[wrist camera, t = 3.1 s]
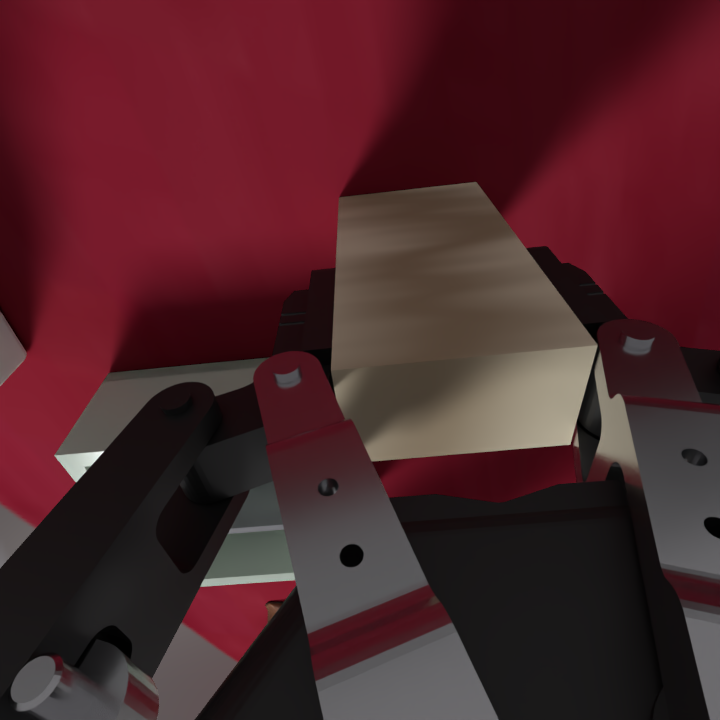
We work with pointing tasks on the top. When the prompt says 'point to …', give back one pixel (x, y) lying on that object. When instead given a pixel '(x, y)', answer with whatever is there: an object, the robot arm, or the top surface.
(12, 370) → the medicine bottle
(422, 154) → the top surface
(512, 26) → the top surface
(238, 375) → the open box
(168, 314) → the top surface
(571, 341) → the beige wooden block
